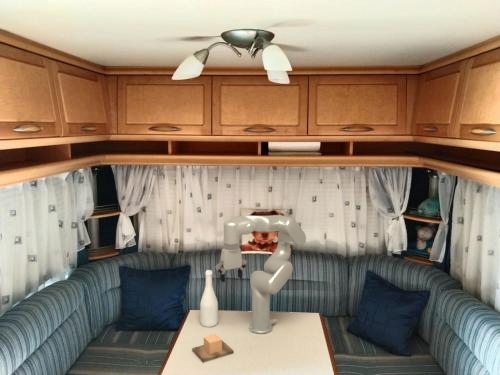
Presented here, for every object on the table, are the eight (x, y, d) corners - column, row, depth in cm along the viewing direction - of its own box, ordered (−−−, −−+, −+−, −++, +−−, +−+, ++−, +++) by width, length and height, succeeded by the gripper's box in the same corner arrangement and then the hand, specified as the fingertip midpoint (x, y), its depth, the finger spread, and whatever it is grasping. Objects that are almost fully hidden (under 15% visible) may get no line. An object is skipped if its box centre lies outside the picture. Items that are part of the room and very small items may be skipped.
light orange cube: (215, 344, 218) (215, 334, 217) (221, 350, 212) (221, 339, 212) (203, 348, 214) (203, 337, 214) (209, 354, 209) (209, 343, 208)
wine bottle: (217, 327, 239) (216, 274, 234) (199, 327, 239) (198, 273, 234) (218, 320, 248) (218, 268, 244) (201, 319, 248) (201, 267, 244)
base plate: (221, 342, 223) (221, 333, 222) (233, 353, 213) (233, 343, 212) (192, 351, 215) (192, 341, 214) (203, 362, 204) (202, 352, 204)
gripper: (242, 241, 225) (242, 274, 227) (212, 246, 216) (212, 280, 218) (250, 245, 219) (250, 278, 221) (219, 250, 210) (219, 285, 212)
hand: (231, 279), depth 220 cm, fingers open, 9 cm apart
